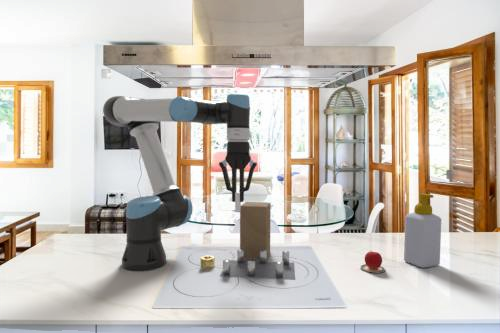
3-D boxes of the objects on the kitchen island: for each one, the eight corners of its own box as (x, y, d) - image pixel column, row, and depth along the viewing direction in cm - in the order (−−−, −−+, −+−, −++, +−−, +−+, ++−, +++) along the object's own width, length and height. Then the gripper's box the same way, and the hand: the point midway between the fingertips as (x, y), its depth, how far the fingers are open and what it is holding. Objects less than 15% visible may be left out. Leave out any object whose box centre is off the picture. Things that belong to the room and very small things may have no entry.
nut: (197, 267, 123) (197, 257, 122) (206, 264, 126) (206, 254, 126) (208, 270, 120) (208, 260, 119) (217, 267, 123) (217, 257, 123)
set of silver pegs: (222, 275, 114) (222, 261, 114) (229, 260, 128) (229, 248, 128) (289, 278, 112) (289, 264, 112) (289, 263, 126) (289, 250, 126)
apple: (355, 267, 124) (356, 248, 123) (374, 264, 126) (374, 246, 126) (371, 275, 116) (371, 255, 116) (390, 272, 119) (391, 253, 119)
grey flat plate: (219, 277, 113) (219, 276, 113) (227, 261, 129) (227, 260, 129) (295, 280, 111) (295, 279, 111) (294, 263, 127) (294, 262, 127)
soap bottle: (422, 269, 121) (424, 196, 120) (402, 261, 130) (404, 192, 128) (441, 265, 125) (444, 195, 123) (420, 258, 133) (422, 191, 132)
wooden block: (266, 261, 130) (266, 206, 128) (239, 259, 132) (239, 205, 130) (270, 252, 139) (270, 202, 138) (245, 251, 141) (245, 201, 140)
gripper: (216, 141, 115) (216, 213, 117) (256, 141, 114) (256, 214, 115) (221, 141, 122) (220, 208, 124) (258, 141, 121) (258, 209, 123)
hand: (237, 211), depth 120 cm, fingers closed
